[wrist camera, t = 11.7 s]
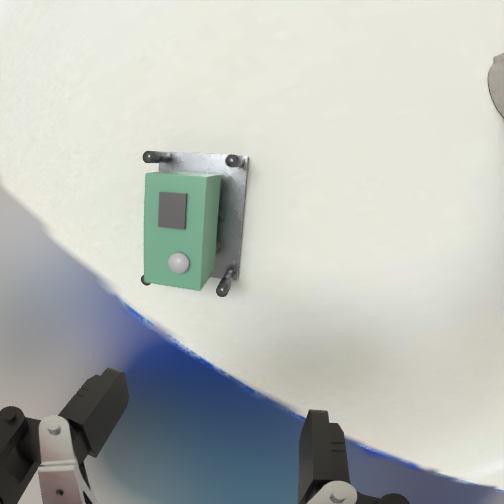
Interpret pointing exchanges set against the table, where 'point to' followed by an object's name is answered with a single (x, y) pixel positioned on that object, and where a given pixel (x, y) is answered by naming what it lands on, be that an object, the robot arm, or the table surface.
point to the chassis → (229, 204)
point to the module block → (180, 228)
